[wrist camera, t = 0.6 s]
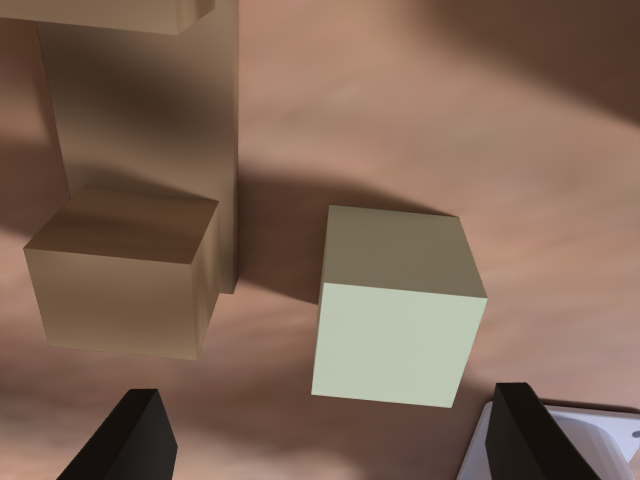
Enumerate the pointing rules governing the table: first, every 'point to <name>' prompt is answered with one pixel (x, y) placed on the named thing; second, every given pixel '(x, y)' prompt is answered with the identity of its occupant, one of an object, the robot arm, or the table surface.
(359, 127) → the table surface
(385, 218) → the sage block
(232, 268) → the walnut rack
